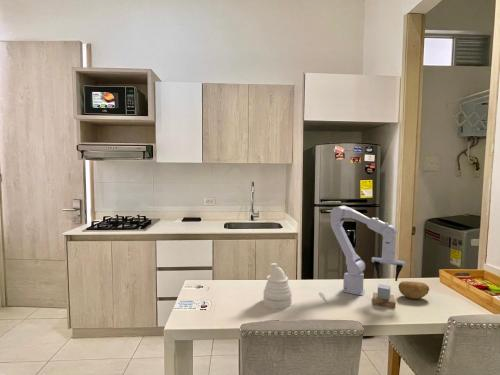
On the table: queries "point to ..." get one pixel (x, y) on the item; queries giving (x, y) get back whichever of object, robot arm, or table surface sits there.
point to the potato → (413, 289)
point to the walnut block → (384, 301)
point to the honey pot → (277, 290)
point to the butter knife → (323, 297)
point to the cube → (383, 292)
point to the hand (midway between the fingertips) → (387, 278)
